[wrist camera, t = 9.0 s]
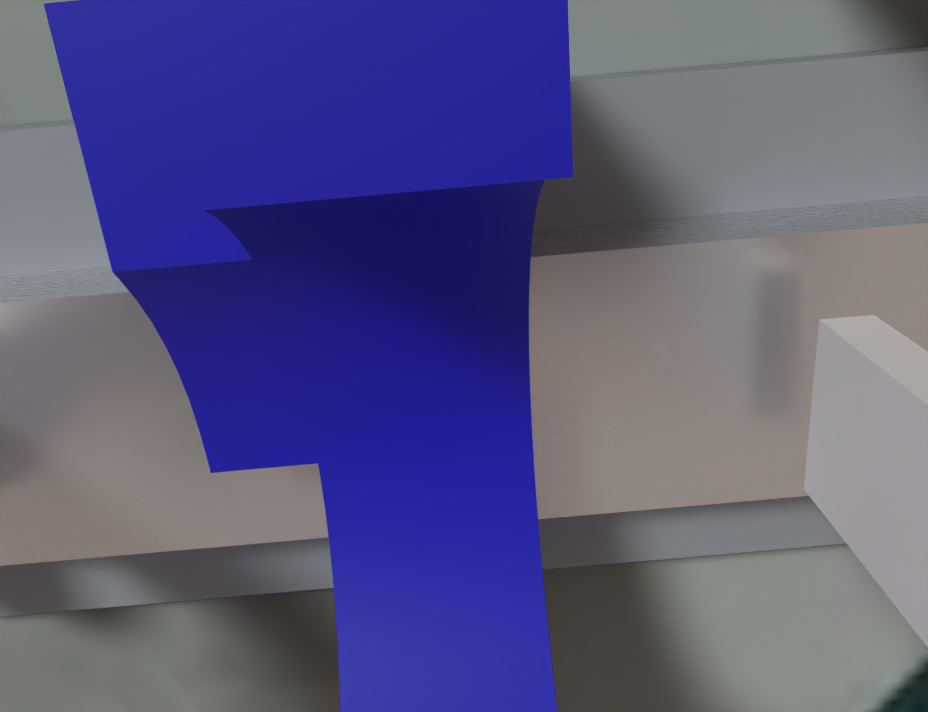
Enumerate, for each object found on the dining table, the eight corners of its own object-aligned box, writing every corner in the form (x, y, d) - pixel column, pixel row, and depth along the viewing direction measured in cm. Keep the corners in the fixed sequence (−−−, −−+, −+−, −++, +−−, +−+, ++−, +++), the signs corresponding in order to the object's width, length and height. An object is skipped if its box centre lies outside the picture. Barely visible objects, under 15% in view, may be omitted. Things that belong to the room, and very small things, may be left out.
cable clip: (146, 7, 11) (-173, -4, 5) (496, -25, 11) (564, -71, 5) (296, 714, 15) (217, 1117, 10) (540, 692, 15) (602, 1083, 10)
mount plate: (-34, 595, 17) (-55, 621, 16) (-207, 144, 13) (-244, 152, 13) (1042, 501, 17) (1070, 523, 16) (1146, 27, 13) (1188, 28, 13)
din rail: (-99, 541, 15) (-217, 656, 13) (-209, 272, 13) (-377, 339, 11) (1101, 436, 15) (1250, 530, 13) (1170, 153, 13) (1364, 188, 11)
